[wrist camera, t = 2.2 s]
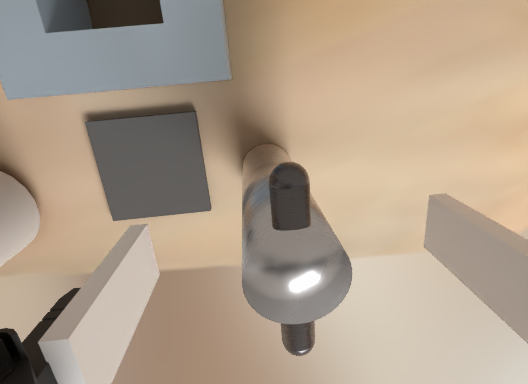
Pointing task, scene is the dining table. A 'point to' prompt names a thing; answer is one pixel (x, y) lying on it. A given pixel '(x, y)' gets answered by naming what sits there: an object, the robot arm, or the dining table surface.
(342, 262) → the silver tall rounded piece
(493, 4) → the dining table surface
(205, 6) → the block
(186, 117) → the mat
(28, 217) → the can
